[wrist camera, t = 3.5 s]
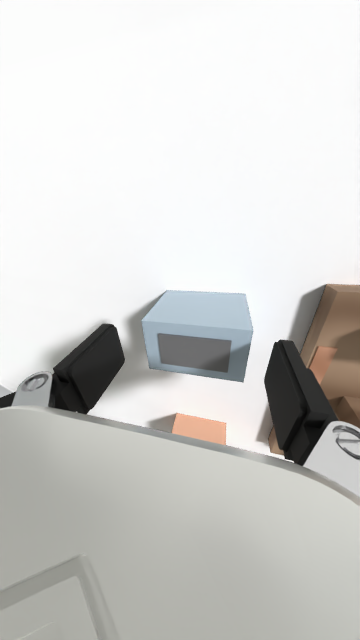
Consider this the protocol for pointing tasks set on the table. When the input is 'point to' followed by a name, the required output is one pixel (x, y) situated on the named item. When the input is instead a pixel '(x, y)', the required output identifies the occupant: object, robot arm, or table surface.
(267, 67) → the table surface
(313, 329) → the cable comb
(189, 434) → the terracotta plug
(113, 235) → the table surface
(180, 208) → the table surface
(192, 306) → the slate plug
